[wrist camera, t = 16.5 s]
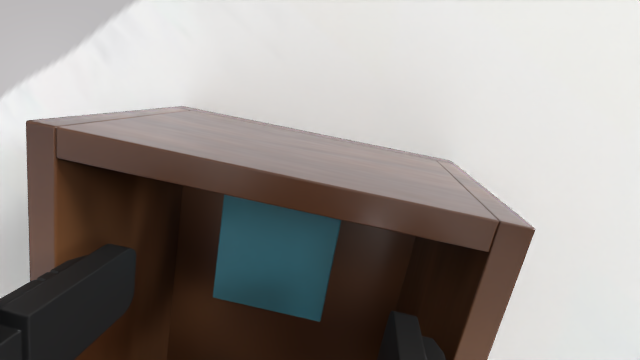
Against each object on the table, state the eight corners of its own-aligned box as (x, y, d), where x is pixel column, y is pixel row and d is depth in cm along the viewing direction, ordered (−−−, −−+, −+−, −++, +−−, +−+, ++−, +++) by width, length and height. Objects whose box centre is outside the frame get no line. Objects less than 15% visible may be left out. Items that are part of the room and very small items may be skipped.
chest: (181, 105, 18) (24, 120, 10) (451, 160, 18) (536, 228, 9) (158, 372, 23) (36, 543, 14) (374, 427, 22) (382, 644, 13)
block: (346, 186, 18) (341, 218, 13) (330, 268, 19) (320, 322, 14) (257, 168, 18) (223, 193, 14) (246, 250, 19) (211, 297, 15)
